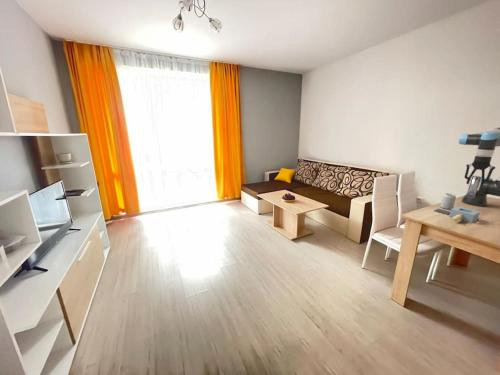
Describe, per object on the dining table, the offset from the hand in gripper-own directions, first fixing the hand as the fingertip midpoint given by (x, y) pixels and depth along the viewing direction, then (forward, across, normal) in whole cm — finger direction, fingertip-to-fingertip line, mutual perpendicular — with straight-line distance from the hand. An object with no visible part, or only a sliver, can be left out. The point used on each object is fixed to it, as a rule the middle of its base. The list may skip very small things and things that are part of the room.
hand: (472, 189), depth 142 cm
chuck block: (+22, +1, +5) cm, 23 cm away
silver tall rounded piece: (+6, 0, 0) cm, 6 cm away
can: (+22, +10, -17) cm, 30 cm away
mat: (+22, +12, -4) cm, 25 cm away
